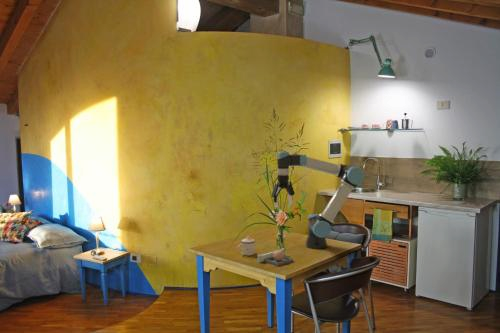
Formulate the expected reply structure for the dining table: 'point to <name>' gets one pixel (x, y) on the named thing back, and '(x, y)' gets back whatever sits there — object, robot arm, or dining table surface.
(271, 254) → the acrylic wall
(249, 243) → the teacup with lid
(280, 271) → the dining table surface
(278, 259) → the ball
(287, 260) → the tray
